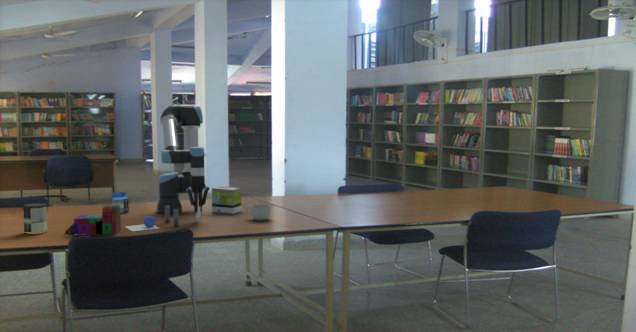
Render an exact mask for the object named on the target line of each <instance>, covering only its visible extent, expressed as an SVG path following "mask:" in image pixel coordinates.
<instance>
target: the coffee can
mask: <svg viewBox="0 0 636 332" xmlns="http://www.w3.org/2000/svg"><path fill="white" fill-rule="evenodd" d="M22 211H23V214H22V215H23V230H24V232H42V231H46V230H47V231H48V227H47V226H48V221H47V219H48V217H47V203H45V202H33V203H31V202H30V203H25V204H22Z"/></svg>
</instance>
